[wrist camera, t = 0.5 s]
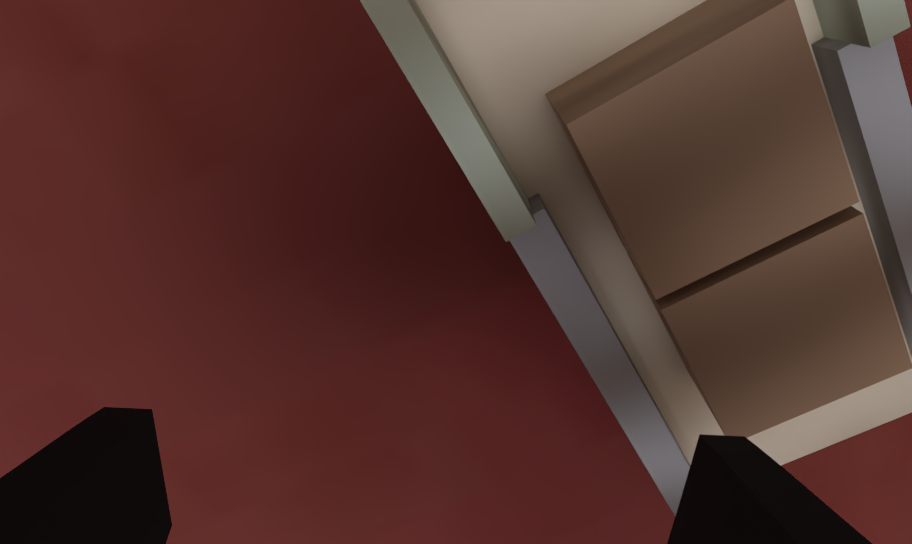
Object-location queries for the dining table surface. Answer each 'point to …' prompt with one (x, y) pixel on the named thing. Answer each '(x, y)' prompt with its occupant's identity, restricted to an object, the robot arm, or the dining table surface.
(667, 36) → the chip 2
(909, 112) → the slot board
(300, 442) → the dining table surface
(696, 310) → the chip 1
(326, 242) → the dining table surface
